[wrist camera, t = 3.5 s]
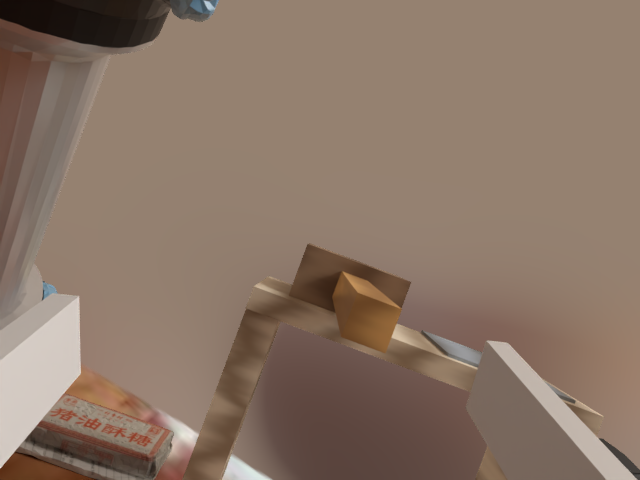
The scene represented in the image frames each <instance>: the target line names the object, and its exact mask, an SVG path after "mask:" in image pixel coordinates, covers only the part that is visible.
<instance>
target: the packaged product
mask: <svg viewBox="0 0 640 480" xmlns="http://www.w3.org/2000/svg"><path fill="white" fill-rule="evenodd" d="M173 435H174V432H173V431H170V430H168V429H165V428H163V427H160V426H157V425H155V424H152V423H148V422H146V421H143V420H140V419H138V418H135V417H132V416H129V415H126V414H124V413H121V412H118V411H115V410H112V409H109V408H106V407H103V406H101V405H97V404H95V403H91V402H88V401H86V400H83V399H80V398H78V397H75V396H72V395H69V394H63V395H62V396H61V397H60V398H59V400H58V401H57V402H56V403H55V404H54V406H53V407H52V408H51V409H50V410H49V411H48V413H47V414H46V415H45V416H44V417H43V419H42V420H41V421H40V422H39V423H38V424H37V426H36V427H35V428H34V429H33V430H32V432H31V433H30V434H29V435H28V436H27V438H26V439H25V440H24V441H23V442H22V443H21V445H20V446H19V447H18V448H17V449H16V451H15V452H19V453H24V454H28V455H32V456H34V457H36V458H38V459H40V460H43V461H46V462H48V463H51V464H54V465H57V466H60V467H62V468H65V469H68V470H71V471H74V472H76V473H79V474H81V475H84V476H88V477H90V478H94V479H98V480H154V479H155V477H156V476H157V474H158V472H159V470H160V468H161V466H162V465H163V463H164V462H165V460H166V459H167V457H168V456H169V454H170V452H171V451H172V444H171V441H172V438H173Z"/></svg>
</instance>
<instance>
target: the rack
mask: <svg viewBox="0 0 640 480" xmlns="http://www.w3.org/2000/svg"><path fill="white" fill-rule="evenodd" d="M291 287H292V285H291V284H289V283H286V282H283V281H281V280H278V279H275V278H273V277H270V276H268V277H267V278H265V279H264V280H262V281H261V282H260V283H258V284H257V285H255V286H254V287H253V290H252V293H251V295H250V298H249V301H248V303H247V306H246V311H245V314H244V316H243V319H242V321H241V324H240V327H239V330H238V332H237V335H236V338H235V340H234V343H233V346H232V348H231V351H230V354H229V356H228V359H227V362H226V365H225V367H224V370H223V372H222V375H221V378H220V381H219V383H218V386H217V389H216V392H215V394H214V397H213V399H212V402H211V405H210V407H209V410H208V413H207V415H206V418H205V421H204V423H203V426H202V429H201V431H200V434H199V437H198V439H197V442H196V445H195V448H194V450H193V453H192V456H191V458H190V461H189V464H188V466H187V469H186V472H185V474H184V477H183V480H222V478H223V475H224V472H225V470H226V467H227V464H228V462H229V459H230V456H231V454H232V451H233V448H234V446H235V443H236V440H237V437H238V435H239V432H240V429H241V427H242V424H243V421H244V419H245V416H246V413H247V411H248V408H249V405H250V403H251V400H252V397H253V395H254V391H255V389H256V386H257V384H258V381H259V379H260V376H261V373H262V370H263V367H264V365H265V362H266V360H267V357H268V354H269V352H270V349H271V346H272V343H273V341H274V338H275V336H276V333H277V330H278V328H279V325H280V322H284V323H287V324H289V325H292V326H295V327H297V328H300V329H303V330H305V331H308V332H311V333H313V334H316V335H319V336H322V337H324V338H327V339H330V340H332V341H335V342H338V343H340V344H343V345H346V346H348V347H351V348H354V349H357V350H359V351H362V352H364V353H367V354H370V355H372V356H375V357H378V358H380V359H383V360H386V361H389V362H391V363H394V364H397V365H399V366H402V367H405V368H407V369H410V370H413V371H416V372H418V373H421V374H424V375H426V376H429V377H432V378H434V379H437V380H440V381H442V382H445V383H448V384H450V385H453V386H456V387H459V388H461V389H464V390H466V391H469V392H471V389H472V385H473V382H474V379H475V376H476V372H477V369H478V366H479V363H480V359H481V356H482V352H479V351H476V350H474V349H471V348H468V347H466V346H463V345H460V344H458V343H455V342H452V341H450V340H447V339H444V338H442V337H439V336H436V335H433V334H431V333H428V332H425V331H423V330H422V331H421V333H420V332H418V331H415V330H412V329H409V328H407V327H404V326H402V325H399V324H396V326H395V329H394V332H393V335H392V337H391V340H390V343H389V345H388V348H387V351H386V353H382V352H380V351H377V350H374V349H372V348H369V347H366V346H364V345H361V344H358V343H356V342H353V341H350V340H348V339H345V338H342V337H341V335H340V330H339V326H338V321H337V317H336V313H334V312H332V311H329V310H326V309H324V308H321V307H318V306H316V305H313V304H310V303H308V302H305V301H302V300H300V299H297V298H294V297H291V296H289V293H290V290H291ZM541 379H542V378H541ZM542 380H543V381H544V382H545V383H546V384H547V385H548V386H549V387H550V388H551V389H552V390H553V391H554V392H555V393H556V394H557V395H558V397H559V398H560V399H561V400H562V401H563V402H564V403H565V404H566V405H567V406H568V407H569V408H570V409H571V410H572V411H573V412H574V413H575V414H576V416H577V417H578V418H579V419H580V420H581V421H582V422H583V423H584V424H585V425H586V426H587V427H588V428H589V429H590V430H591V431H592V432H593V433H594V434H595V436H596V437H597V435H598V432H599V429H600V427H601V424H602V421H603V419H604V416H602V415H600V414H599V413H597V412H595V411H594V410H592V409H591V408H589V407H587V406H586V405H584V404H582V403H581V402H579V401H578V400H576V399H574V398H572V397H571V396H569V395H568V394H566V393H565V392H563V391H561V390H559V389H558V388H557V387H555V386H553V385H552V384H550V383H549V382H547V381H545V380H544V379H542ZM475 480H507V478H506V476H505V475H504V473H503V471H502V469H501V468H500V466H499V464H498V463H497V461H496V459H495V458H494V456H493V454H492V452H491V451H490V449H489V447H488V446H487V449H486V452H485V455H484V457H483V460H482V462H481V465H480V468H479V470H478V473H477V476H476V479H475Z"/></svg>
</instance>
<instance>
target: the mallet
mask: <svg viewBox="0 0 640 480" xmlns="http://www.w3.org/2000/svg"><path fill="white" fill-rule="evenodd" d="M410 284H411V282H409V281H407V280H405V279H403V278H400V277H398V276H396V275H393V274H391V273H388V272H385V271H382V270H380V269H377V268H375V267H372V266H369V265H367V264H364V263H361V262H358V261H356V260H353V259H350V258H348V257H345V256H342V255H340V254H337V253H334V252H331V251H329V250H326V249H324V248H321V247H318V246H316V245H313V244H310V243H309V244H308V245H307V247H306V250H305V253H304V255H303V258H302V261H301V264H300V266H299V269H298V271H297V274H296V277H295V280H294V282H293V285H292V287H291V290H290V293H289V296H291V297H294V298H297V299H300V300H302V301H305V302H308V303H310V304H313V305H316V306H318V307H321V308H324V309H326V310H329V311H332V312H334V313H336V317H337V321H338V326H339V330H340V335H341V337H342V338H345V339H348V340H350V341H353V342H356V343H358V344H361V345H364V346H366V347H369V348H372V349H374V350H377V351H380V352H382V353H386V351H387V348H388V345H389V343H390V340H391V337H392V335H393V332H394V329H395V326H396V324H397V321H398V318H399V316H400V313H401V310H402V309H401V308H402V305H403V303H404V300H405V297H406V294H407V292H408V289H409V287H410Z"/></svg>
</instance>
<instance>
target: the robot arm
mask: <svg viewBox="0 0 640 480" xmlns="http://www.w3.org/2000/svg"><path fill="white" fill-rule="evenodd" d="M218 1H219V0H0V468H1V467H2V466H3V465H4V464H5V462H6V461H7V460H8V459H9V458H10V456H11V455H12V454H13V453H14V452H15V451H16V449H17V448H18V447H19V446H20V445H21V443H22V442H23V441H24V440H25V439H26V438H27V436H28V435H29V434H30V433H31V432H32V430H33V429H34V428H35V427H36V426H37V424H38V423H39V422H40V421H41V420H42V419H43V417H44V416H45V415H46V414H47V413H48V411H49V410H50V409H51V408H52V407H53V406H54V404H55V403H56V402H57V401H58V400H59V398H60V397H61V396H62V395H63V394H64V392H65V391H66V390H67V389H68V388H69V387H70V385H71V384H72V383H73V382H74V381H75V379H76V378H77V377H78V376H79V375H80V374H81V368H80V319H79V296H74V295H63V294H58V293H57V291H56V289H55V287H54V286H52V285H50V284H47V283H45V282H44V281H42V278H41V274H40V272H39V270H38V268H37V267H36V265H35V264H34V261H35V258H36V256H37V253H38V250H39V248H40V245H41V242H42V239H43V237H44V234H45V231H46V228H47V226H48V223H49V221H50V218H51V215H52V212H53V210H54V207H55V204H56V202H57V199H58V196H59V194H60V191H61V188H62V185H63V183H64V180H65V178H66V175H67V172H68V170H69V167H70V164H71V162H72V159H73V156H74V154H75V151H76V148H77V146H78V143H79V140H80V137H81V135H82V132H83V129H84V126H85V124H86V121H87V119H88V116H89V113H90V110H91V108H92V105H93V102H94V100H95V97H96V94H97V92H98V89H99V86H100V84H101V81H102V79H103V76H104V73H105V71H106V67H107V65H108V62H109V60H110V57H111V55H113V54H124V53H131V52H136V51H140V50H143V49H145V48H147V47H149V46H150V45H151V44H153V43H154V42H155V40H156V39H157V36H158V35H159V33H160V31H161V29H162V27H163V24H164V22H165V19H166V17H167V15H168V13H169V11H170V9H171V8H172V12H173V14H174V15H176V16H177V17H179V18H180V19H187V18H188V19H191V20H194V21H198V22H203V21H205V20H208V19H209V18H210V16H211V15H213V13H214V10H215V7H216V5H217V3H218ZM466 410H467V411H468V413H469V415H470V417H471V418H472V420H473V422H474V424H475V425H476V427H477V428H478V430H479V432H480V434H481V435H482V437H483V439H484V440H485V442H486V444H487V446H488V447H489V449H490V451H491V452H492V454H493V456H494V458H495V459H496V461H497V463H498V464H499V466H500V468H501V469H502V471H503V473H504V475H505V476H506V478H507V480H640V470H639V469H638V468H637V467H636V466H635V465H634V464H633V463H632V462H631V461H630V460H629V459H628V458H627V457H626V456H625V455H624V454H623V453H621V452H620V451H619V450H617V449H616V448H615V447H613V446H612V445H610V444H609V443H608V442H606V441H605V440H604V439H599V438H597V437H596V436H595V434H594V433H593V432H592V431H591V430H590V429H589V428H588V427H587V426H586V425H585V424H584V423H583V422H582V421H581V420H580V419H579V418H578V417H577V416H576V414H575V413H574V412H573V411H572V410H571V409H570V408H569V407H568V406H567V405H566V404H565V403H564V402H563V401H562V400H561V399H560V398H559V397H558V395H557V394H556V393H555V392H554V391H553V390H552V389H551V388H550V387H549V386H548V385H547V384H546V383H545V382H544V381H543V380H542V379H541V378H540V377H539V375H538V374H537V373H536V372H535V371H534V370H533V369H532V368H531V367H530V366H529V365H528V364H527V363H526V362H525V361H524V360H523V359H522V358H521V357H520V355H519V354H518V353H517V352H516V351H515V350H514V349H513V348H512V347H511V346H510V345H509V344H508V343H504V342H495V341H486V343H485V347H484V350H483V353H482V356H481V359H480V363H479V366H478V369H477V372H476V376H475V379H474V382H473V385H472V389H471V392H470V396H469V398H468V402H467V405H466Z"/></svg>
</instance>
